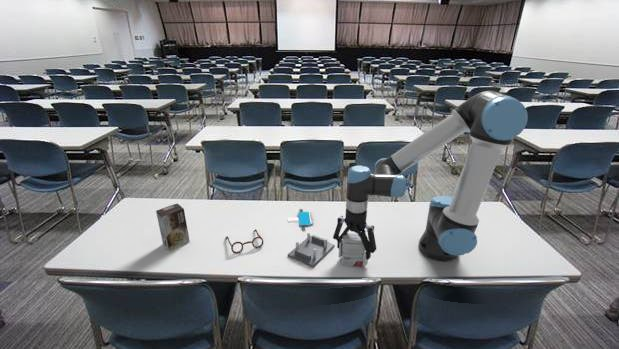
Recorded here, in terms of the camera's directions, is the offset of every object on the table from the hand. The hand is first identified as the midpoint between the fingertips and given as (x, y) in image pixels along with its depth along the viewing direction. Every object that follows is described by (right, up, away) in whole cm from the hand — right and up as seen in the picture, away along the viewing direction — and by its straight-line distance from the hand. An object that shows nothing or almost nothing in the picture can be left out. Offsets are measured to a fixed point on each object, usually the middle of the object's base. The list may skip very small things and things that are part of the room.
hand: (352, 260), depth 124 cm
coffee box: (-72, +4, +12) cm, 73 cm away
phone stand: (-21, +11, +30) cm, 38 cm away
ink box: (0, -1, +1) cm, 1 cm away
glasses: (-44, +4, +13) cm, 46 cm away
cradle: (-16, +2, +7) cm, 17 cm away
